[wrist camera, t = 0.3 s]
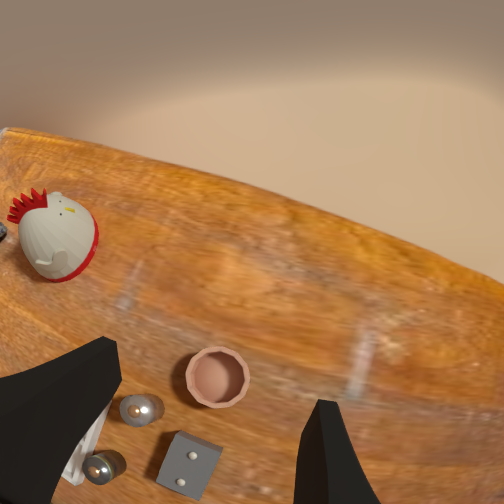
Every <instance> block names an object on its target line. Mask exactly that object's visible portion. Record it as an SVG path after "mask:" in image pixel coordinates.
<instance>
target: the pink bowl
mask: <svg viewBox="0 0 504 504" xmlns="http://www.w3.org/2000/svg"><path fill="white" fill-rule="evenodd" d="M186 381H187V388H188V390H189V391H190V392H191V394H192V395H193V396H194V398H195V399H196V400H197V401H198V402H199V403H202V404H204V405H206V406H209V407H211V408H223V407H230V406H232V405H234V404H235V403H236V402H238V401H239V400H240V399H242V398H243V397H244V396H245V393H246V391H247V389H248V386H249V383H250V375H249V370H248V365H247V364H246V363H245V361H244V360H243V359H242V358H241V357H240V355H239V354H238V353H237V352H235V351H232V350H230V349H227V348H225V347H222V346H218V347H210V348H204V349H203V350H202V351H200V352H199V353H198V354H196V355H195V356H194V357H192V358H191V361H190V363H189V365H188V368H187V370H186Z"/></svg>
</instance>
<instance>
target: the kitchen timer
mask: <svg viewBox="0 0 504 504" xmlns="http://www.w3.org/2000/svg"><path fill="white" fill-rule="evenodd" d="M31 195H32V198H33V199H30V198H29V197H27V196H26V195H24V194H22V193H21V200H22V201H23V203H22V202H21V201H19V200H18V199H16V198H13V204H14V205H15V207H16V208H15V207H12V206H10V211H9V212H10V213H12V214H13V215H15V216H13V215H7V220H8V221H10V222H13V223H16V224H19V226H18V233H19V239H20V243H21V246H22V249H23V252H24V254H25V255H26V257H27V259H28V260H29V262H30V263H31V265H32V266H33V267H34V268H35V270H36V271H37V272H38V273H39V274H40V275H42V276H43V277H45V278H46V279H48V280H50V281H52V282H64V281H68V280H71V279H72V278H74V277H76V276H77V275H79V274H80V273H81V272H82V271H83V270H84V269H85V268H86V267H87V266H88V264H89V262H90V261H91V259H92V258H93V256H94V254H95V251H96V248H97V245H98V237H99V232H98V226H97V223H96V221H95V219H94V218H93V216H92V215H91V214H90V212H89V211H87V210H86V209H85V208H84V207H83V206H81V205H80V204H79V203H77V202H75V201H73V200H71V199H69V198H66V197H63V195H62V194H61V193H60V192H52V193H51V194H50V195H47V194H46V190H45V188H44V191H43V195H39V194H38V193H37V192H36V191H35V190H34V189H33V188H31Z"/></svg>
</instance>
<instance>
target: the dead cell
mask: <svg viewBox="0 0 504 504" xmlns="http://www.w3.org/2000/svg"><path fill="white" fill-rule="evenodd" d="M164 410H165V408H164V404H163V402H162V400H161V399H160V398H159V397H158V396H156V395H154V394H140V395H129V396H127V397H125V398H124V399H123V400H122V401H121V403H120V414H121V417H122V419H123V420H124V421H125V422H126V423H127V424H128V425H130V426H133V427H142V426H144V425H147V424H150V423H152V422H155V421H157V420H159V419H161V418H162V416H163V414H164Z"/></svg>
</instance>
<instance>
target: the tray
mask: <svg viewBox="0 0 504 504" xmlns="http://www.w3.org/2000/svg"><path fill="white" fill-rule="evenodd" d="M111 403H112V401H110V402H109V404H108V405H107V406H106V408H105V409H104V410H103V412H102V413H101V414H100V416H99V417H98V418H97V420H96V421H95V422H94V424H93V425H92V426H91V427H90V429H89V430H88V431H87V433H86V434H85V435H84V437H83V438H82V439H81V441H80V442H79V444H78V445H77V447H76V448H75V450H74V452H73V454H72V456H71V457H70V459H69V461H68V463H67V465H66V467H65V469H64V471H63V473H62V475H61V476H62V477H64V478H65V479H66V480H68V481H69V482H70V483H72V484H73V485H75V486H77V485H79V484H81V483H83V481H84V478H85V475H84V473H83V470H82V463H83V461H84V460H85V459H86V458H88V457H91V456H92V454H93V451H94V448H95V446H96V443H97V440H98V437H99V435H100V432H101V429H102V426H103V424H104V421H105V418H106V416H107V413H108V411H109V408H110V406H111Z"/></svg>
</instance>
